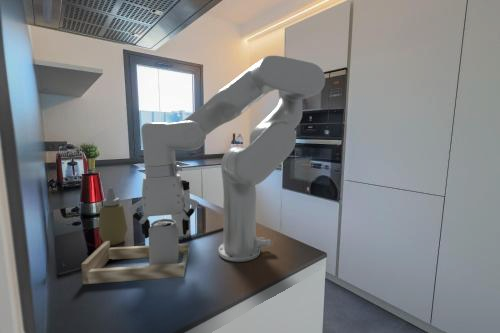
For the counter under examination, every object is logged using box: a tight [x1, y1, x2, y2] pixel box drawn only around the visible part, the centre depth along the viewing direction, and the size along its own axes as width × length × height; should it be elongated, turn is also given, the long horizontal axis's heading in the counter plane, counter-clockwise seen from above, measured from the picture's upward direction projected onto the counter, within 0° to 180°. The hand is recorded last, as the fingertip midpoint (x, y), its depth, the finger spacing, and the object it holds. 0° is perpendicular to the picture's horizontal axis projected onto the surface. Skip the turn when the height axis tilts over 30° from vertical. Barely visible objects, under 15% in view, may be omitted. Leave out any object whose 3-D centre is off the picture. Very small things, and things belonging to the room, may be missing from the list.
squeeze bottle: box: [98, 187, 128, 246], centre depth 78 cm, size 8×8×18 cm
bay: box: [80, 241, 190, 285], centre depth 64 cm, size 23×12×5 cm, turn 98°
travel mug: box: [170, 179, 192, 240], centre depth 83 cm, size 6×7×20 cm
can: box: [148, 218, 180, 265], centre depth 65 cm, size 8×8×12 cm
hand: (166, 234), depth 65 cm, fingers open, 9 cm apart
